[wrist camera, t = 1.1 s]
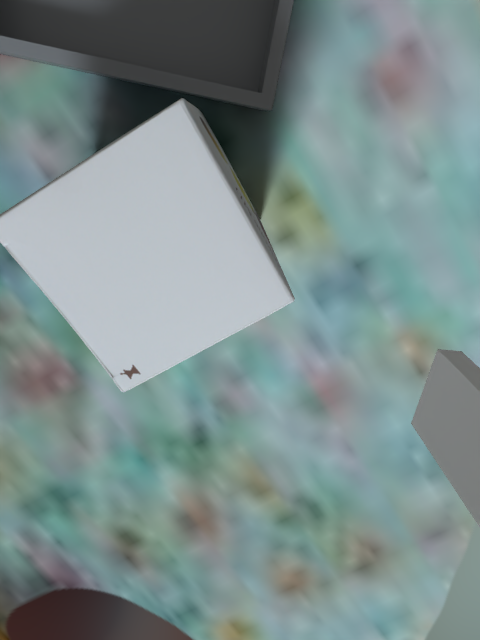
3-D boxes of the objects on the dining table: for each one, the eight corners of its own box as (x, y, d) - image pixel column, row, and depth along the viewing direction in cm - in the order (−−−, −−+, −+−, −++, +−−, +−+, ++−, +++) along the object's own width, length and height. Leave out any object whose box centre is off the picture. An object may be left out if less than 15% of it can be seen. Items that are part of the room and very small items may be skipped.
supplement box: (263, 222, 34) (304, 308, 19) (163, 280, 36) (126, 403, 21) (197, 102, 31) (182, 89, 15) (88, 172, 32) (-25, 224, 17)
